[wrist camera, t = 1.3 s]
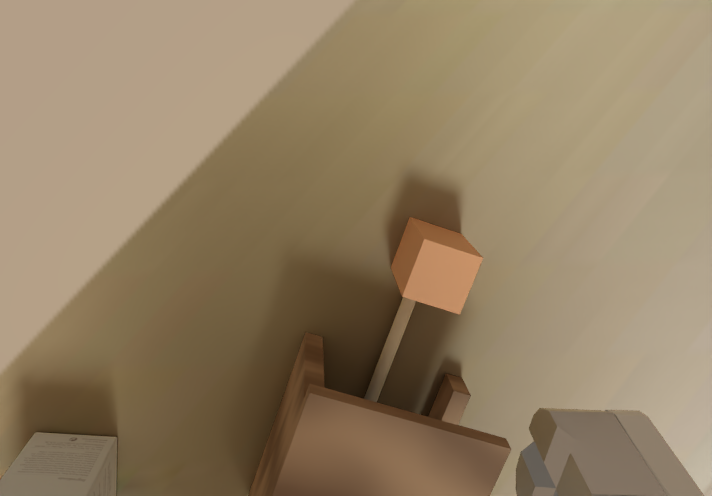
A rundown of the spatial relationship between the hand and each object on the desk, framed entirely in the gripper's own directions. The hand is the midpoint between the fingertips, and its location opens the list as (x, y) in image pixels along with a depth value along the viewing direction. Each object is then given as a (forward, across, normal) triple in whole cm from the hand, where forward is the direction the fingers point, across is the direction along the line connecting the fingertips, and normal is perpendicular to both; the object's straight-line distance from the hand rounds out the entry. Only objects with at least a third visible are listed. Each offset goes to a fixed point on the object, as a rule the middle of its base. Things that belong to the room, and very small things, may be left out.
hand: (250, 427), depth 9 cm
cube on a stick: (+28, +8, -20) cm, 35 cm away
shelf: (+26, +7, -25) cm, 37 cm away
